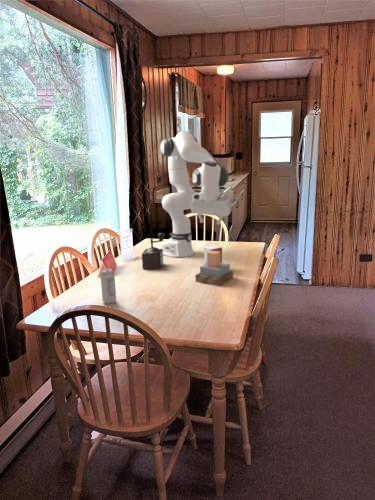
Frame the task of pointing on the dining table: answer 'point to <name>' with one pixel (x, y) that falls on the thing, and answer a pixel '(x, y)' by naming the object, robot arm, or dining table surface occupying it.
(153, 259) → the pepper mill
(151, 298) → the dining table surface
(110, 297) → the energy drink can
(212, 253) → the pillar block
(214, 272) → the grey square slab
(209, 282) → the tower base
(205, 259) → the small box
